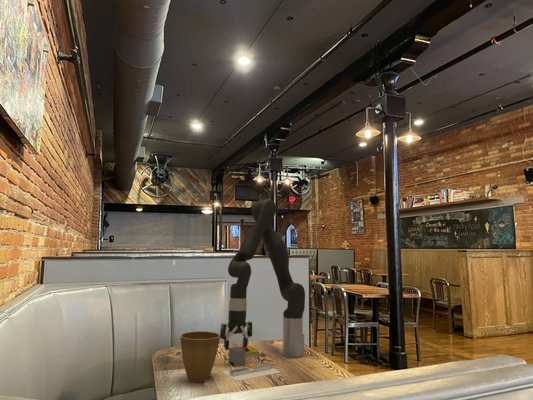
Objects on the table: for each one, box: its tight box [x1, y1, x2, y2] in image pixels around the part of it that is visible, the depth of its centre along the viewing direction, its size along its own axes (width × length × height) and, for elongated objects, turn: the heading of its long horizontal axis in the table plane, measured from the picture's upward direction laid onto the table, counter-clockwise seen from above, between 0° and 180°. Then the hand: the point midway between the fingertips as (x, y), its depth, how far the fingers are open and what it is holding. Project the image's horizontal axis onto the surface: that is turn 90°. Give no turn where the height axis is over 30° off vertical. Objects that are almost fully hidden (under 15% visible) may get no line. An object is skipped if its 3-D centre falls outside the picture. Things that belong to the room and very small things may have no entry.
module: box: [227, 346, 246, 368], centre depth 155 cm, size 4×6×7 cm
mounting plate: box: [221, 363, 282, 383], centre depth 145 cm, size 20×12×1 cm, turn 123°
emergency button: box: [227, 345, 261, 358], centre depth 171 cm, size 9×4×15 cm
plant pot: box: [179, 330, 221, 383], centre depth 139 cm, size 15×15×16 cm
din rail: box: [229, 363, 273, 377], centre depth 145 cm, size 18×2×2 cm, turn 123°
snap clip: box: [247, 363, 256, 369], centre depth 145 cm, size 2×2×1 cm
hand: (235, 348), depth 156 cm, fingers open, 8 cm apart
